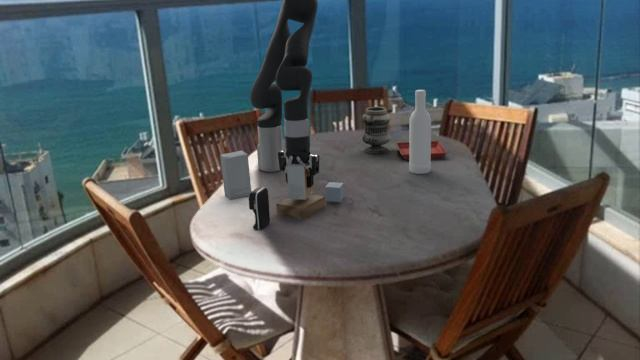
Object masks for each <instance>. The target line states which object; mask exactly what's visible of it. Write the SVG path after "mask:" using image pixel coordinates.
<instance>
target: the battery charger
mask: <svg viewBox="0 0 640 360" xmlns="http://www.w3.org/2000/svg"><path fill="white" fill-rule="evenodd" d="M248 209H249V210H251V211H252V212H253V213H254V219H255V221H254V224H253V226H252V228H253V230H258V231H260V230H263V229H264V228H265V227H267V225H268V224H269V223H271V218H270V200H269V190H268V188H267V187H256V188H254V189H253V190H251V193H250V194H249V196H248Z"/></svg>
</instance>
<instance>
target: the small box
mask: <svg viewBox="0 0 640 360" xmlns="http://www.w3.org/2000/svg"><path fill="white" fill-rule="evenodd" d="M309 161H310V162H311V159H309ZM306 166H308V164H305V166H302V165H299V164H290V165H289V166H287V179H288V184H287V191H288V192H287V194H288V197H289V199H299V200H306V199H307V197H308V196H309V194H312V187H310V188H307V178H306V176H307V175H306V169H305V167H306Z"/></svg>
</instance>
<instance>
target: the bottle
mask: <svg viewBox="0 0 640 360" xmlns="http://www.w3.org/2000/svg"><path fill="white" fill-rule="evenodd" d="M426 92H427V91H426V90H425V89H417V90H415V91H414V93H415V94H414V96H415V97H414V99H415V100H414V101H415V103H414V105H415V106H414V107H415V108H414V111H412V112H411V114H410V116H409V120H408V122H409V125H408V126H409V129H408V130H409V133H408V134H409V135H408V136H409V141H408V142H409V161H408V162H409V163H408V167H409V168H408V169H409V172H410V173H411V174H416V175H424V174H428V173H429V174H430V172H431V170H432V169H431V168H432V163H431V161H432V159H431V141H432V118H431V115H430V113H429V111H427V109H426V101H427V100H426V97H427V93H426Z"/></svg>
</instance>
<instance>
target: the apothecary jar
mask: <svg viewBox="0 0 640 360" xmlns="http://www.w3.org/2000/svg"><path fill="white" fill-rule="evenodd" d="M364 112H365V113H364V114H363V115H362V116H361V121H362V122H363V123H364V133H363V134H362V135H361V140H362V142H363V143H364V144H367V145H369V146H368V147H366V148H365V149H364V152H365V153H367V154H383V153H388V151H389V148H387V147H385V146H383V145H386V144H388V143H389V142H390V141H391V139H392V135H391V134H390V133H389V130H388V129H389V128H388V127H389V126H388V123H389V122H390V121H391V119H392V117H391V115H390V113H389V112H388V110H387V108H386V107H384V106H370V107H366V109H365V111H364Z"/></svg>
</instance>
